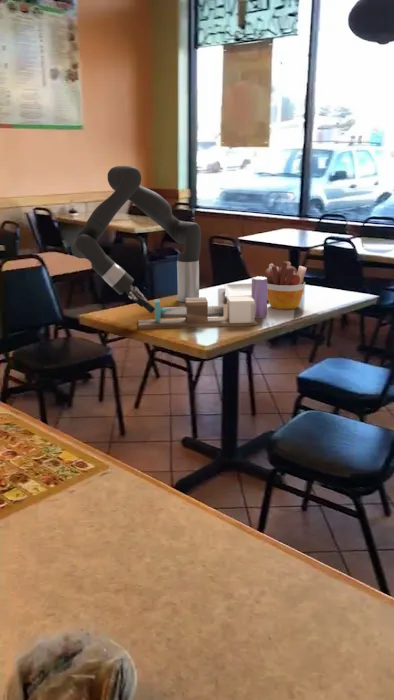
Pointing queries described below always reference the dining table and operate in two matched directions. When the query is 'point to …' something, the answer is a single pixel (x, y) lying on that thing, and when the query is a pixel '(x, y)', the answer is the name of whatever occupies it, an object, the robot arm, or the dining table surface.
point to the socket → (240, 309)
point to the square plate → (238, 290)
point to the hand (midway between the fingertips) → (153, 311)
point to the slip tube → (182, 311)
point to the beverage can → (260, 296)
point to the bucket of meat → (285, 286)
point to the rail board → (191, 318)
